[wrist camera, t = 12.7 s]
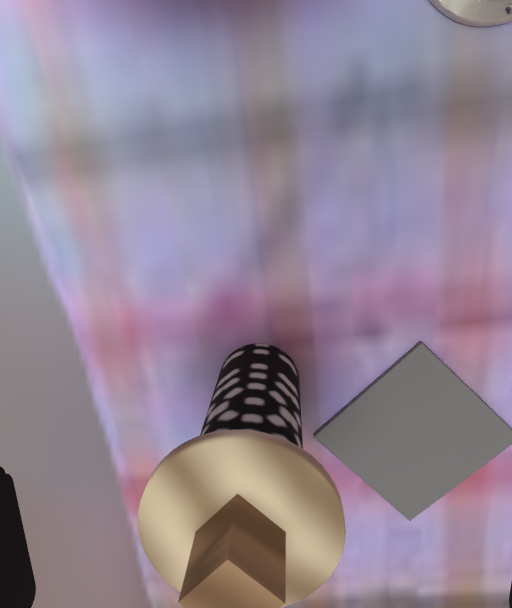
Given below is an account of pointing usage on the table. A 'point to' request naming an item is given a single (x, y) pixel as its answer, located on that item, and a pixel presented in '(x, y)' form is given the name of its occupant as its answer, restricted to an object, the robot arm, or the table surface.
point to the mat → (415, 432)
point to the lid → (241, 521)
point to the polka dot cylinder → (257, 394)
